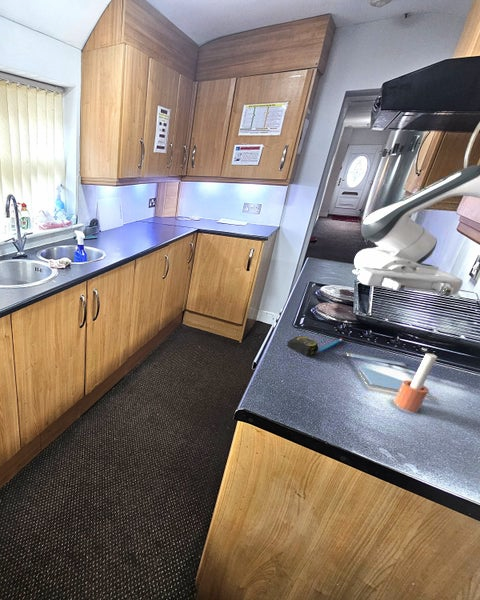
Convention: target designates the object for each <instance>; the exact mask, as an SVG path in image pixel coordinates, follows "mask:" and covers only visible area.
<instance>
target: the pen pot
mask: <svg viewBox="0 0 480 600" xmlns="http://www.w3.org/2000/svg"><path fill="white" fill-rule="evenodd" d="M402 381H403V383H402V385H401V387H400V389H399V391H398V392H396V395H395V398H393V402H394V404H395V405H396V406H397V407H399V408H400V409H403V410H405V411H408V412H412V413H415V412H418V411H420V409H421V408H422V405H423V403H424V401H425V399H427V398H426V396H427V394H428V393H429V392H430V389H429V388H428V387H426V385H423V386H422V388H421V390H418V389H414V388H412V387H410V385H411V383H412V381H413V380H402Z"/></svg>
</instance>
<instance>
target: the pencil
mask: <svg viewBox="0 0 480 600" xmlns="http://www.w3.org/2000/svg"><path fill="white" fill-rule="evenodd" d="M342 341H343V338H339V339H337V340H336V341H334V342H332V343H329V344H328V345H326V346H324V347H322V348H321V349H318V352H320V353H322V352H324V351H326V350H328V349H330V348H331V347H333V346H335V345H337V344H339V343H341V342H342Z"/></svg>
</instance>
